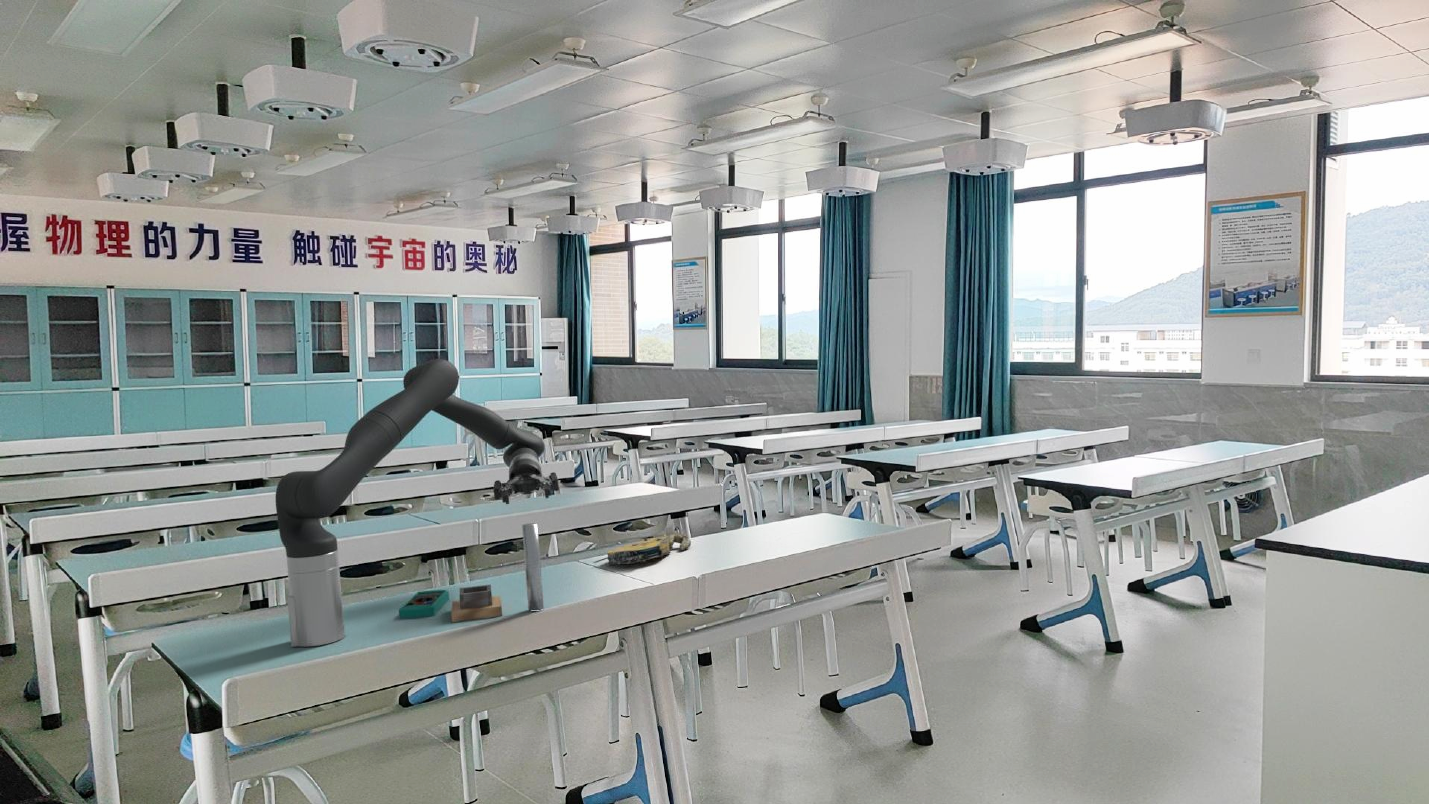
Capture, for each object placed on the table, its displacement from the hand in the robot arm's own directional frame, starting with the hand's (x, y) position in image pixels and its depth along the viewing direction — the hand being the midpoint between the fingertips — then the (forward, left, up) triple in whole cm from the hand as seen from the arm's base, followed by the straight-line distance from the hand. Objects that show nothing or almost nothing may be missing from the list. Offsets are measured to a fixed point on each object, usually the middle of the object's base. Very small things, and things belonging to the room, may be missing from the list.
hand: (526, 497), depth 204 cm
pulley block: (+32, +31, -23) cm, 50 cm away
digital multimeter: (-23, +5, -23) cm, 33 cm away
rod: (0, -9, -23) cm, 24 cm away
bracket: (-12, -5, -23) cm, 26 cm away
